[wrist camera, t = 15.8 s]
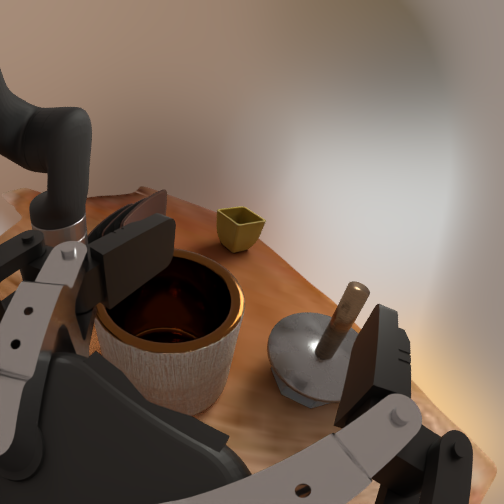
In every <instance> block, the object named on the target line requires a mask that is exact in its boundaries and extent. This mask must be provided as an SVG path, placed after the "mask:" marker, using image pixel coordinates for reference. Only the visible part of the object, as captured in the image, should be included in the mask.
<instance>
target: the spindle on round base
mask: <svg viewBox="0 0 504 504" xmlns="http://www.w3.org/2000/svg"><path fill="white" fill-rule="evenodd" d="M369 294H370V291H369V290H368V288H367V287H366V286H365V285H363V284H361V283H359V282H350V283H349V284H348V286H347V288H346V290H345V292H344V294H343V296H342V299H341V300H340V302H339V304H338V306H337V308H336V310H335V312H334V314H333V316H332V317H330V316H327V315H323V314H318V313H297V314H293V315H290V316H287V317H285V318H283V319H282V320H281V321H279V322H278V323H277V324H276V325H275V326H274V328H273V329H272V331H271V334H270V336H269V339H268V343H267V352H268V358H269V361H270V364H271V366H272V368H273V370H274V371H275V373H276V374H277V376H278V377H279V378H280V379H281V381H282V382H284V383H285V384H286V385H287V386H288V387H289V388H290V389H292V390H293V391H295V392H296V393H298V394H300V395H302V396H304V397H306V398H308V399H311V400H315V401H319V402H324V403H339V402H340V400H341V396H342V392H343V388H344V383H345V379H346V374H347V370H348V365H349V360H350V355H351V350H352V347H353V344H354V342H355V340H356V338H357V336H358V333H357V332H356V331H355V330H354V329H352V328H351V327H352V325H353V323H354V322H355V320H356V318H357V316H358V314H359V313H360V311H361V309H362V308H363V306H364V304H365V302H366V300H367V298H368V297H369Z"/></svg>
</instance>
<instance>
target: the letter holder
mask: <svg viewBox="0 0 504 504" xmlns="http://www.w3.org/2000/svg"><path fill="white" fill-rule="evenodd" d="M166 204H167V192H166V190H161V191H158V192H156V193H154V194H152V195H151V196H149V197H147V198H144V199H142V200H140V201H138V202H136V203H134V204H132V203H131V204H128V205H126V206H124V207H122V208H120V209H118V210H117V211H115V212H114V213H112V214H111V215H110V216H108V217H107V218H106V219H104V220H103V221H102V222H101V223H100V224H98V225H97V226H96V227H95V228H94V229H93V230H92V231H91V232H90V234H89V235H88V236H87V238H88V244H90V243H91V242H93V241H95V240H97V239H99V238H101V237H103V236H105V235H107V234H109V233H111V232H112V233H113V232H114V231H115V230H117V229H119V228H120V229H121V227H123V226H125V225H127V224H129V223H131V222H136V221H140V220H143V219H145V218H147V217H149V216H151V215H153V214H155V213H159V214H162V215H164V216H166Z"/></svg>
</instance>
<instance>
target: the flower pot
mask: <svg viewBox="0 0 504 504" xmlns="http://www.w3.org/2000/svg"><path fill="white" fill-rule="evenodd" d="M265 222H266V220H265V219H263V218H261V217H260V216H258V215H257V214H255V213H254V212H252V211H250V210H249V209H247V208H246V207H233V208H225V209H218V210H217V233H218V236H219V239H220V241H221V243H222V244H223V245H224V246H225V247H226V248H228V249H229V250H230V251H231V252H233V253H235V252H239V251H243V250H247V249H249V248H250V247H251V246H252V245H253V244H254V243H255V242H256V241H257V240H258V238H259V236H260V234H261V231H262V229H263V226H264V224H265Z"/></svg>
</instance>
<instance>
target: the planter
mask: <svg viewBox="0 0 504 504" xmlns="http://www.w3.org/2000/svg"><path fill="white" fill-rule="evenodd" d="M96 309H97V311H96V316H95V321H94V323H95V328H96V332H97V336H98V340H99V344H100V348H101V352H102V356H103V357H104V358H105V359H107V360H108V361H109V362H110V363H112V364H113V365H114V366H116V367H117V368H118V369H120V370H121V371H122V372H123V373H124V374H125V375H126V377H127V378H128V379H129V380H130V381H131V383H132V384H133V385H134V386H135V387H136V389H137V390H138V391H139V392H140V393H141V394H142V395H143V397H144V398H145V399H146V400H148V401H149V402H151V403H154V404H157V405H159V406H162V407H165V408H168V409H171V410H174V411H177V412H180V413H183V414H186V415H189V416H192V415H195V414H198V413H200V412H202V411H203V410H205V409H207V408H208V407H209V406H211V405H212V404H213V403H214V402H215V401H216V400H217V399H218V397H219V396H220V394H221V393H222V391H223V389H224V387H225V384H226V381H227V378H228V374H229V370H230V366H231V362H232V358H233V354H234V349H235V345H236V341H237V337H238V333H239V330H240V326H241V322H242V318H243V314H244V309H245V299H244V294H243V291H242V288H241V286H240V284H239V283H238V281H237V280H236V278H235V277H234V276H233V275H232V274H231V273H230V272H229V271H228V270H227V269H226V268H224V267H223V266H222V265H220V264H219V263H217V262H215V261H214V260H212V259H210V258H208V257H205V256H203V255H200V254H197V253H194V252H190V251H186V250H181V249H174V252H173V257H172V260H171V262H170V264H169V265H168V266H167V267H166V268H165V269H164V270H162V271H161V272H160V273H158V274H157V275H155V276H154V277H153V278H151V279H150V280H149V281H147V282H146V283H145V284H143V285H142V286H141V287H139V288H138V289H137V290H135V291H134V292H133V293H131V294H130V295H129V296H127V297H126V298H125V299H123V300H122V301H121V302H119V303H118V304H117V305H115V306H114V307H113V308H112V309H108V308H107V307H106V306H104V305H103V304H101V303H98V304H97V305H96Z"/></svg>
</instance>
